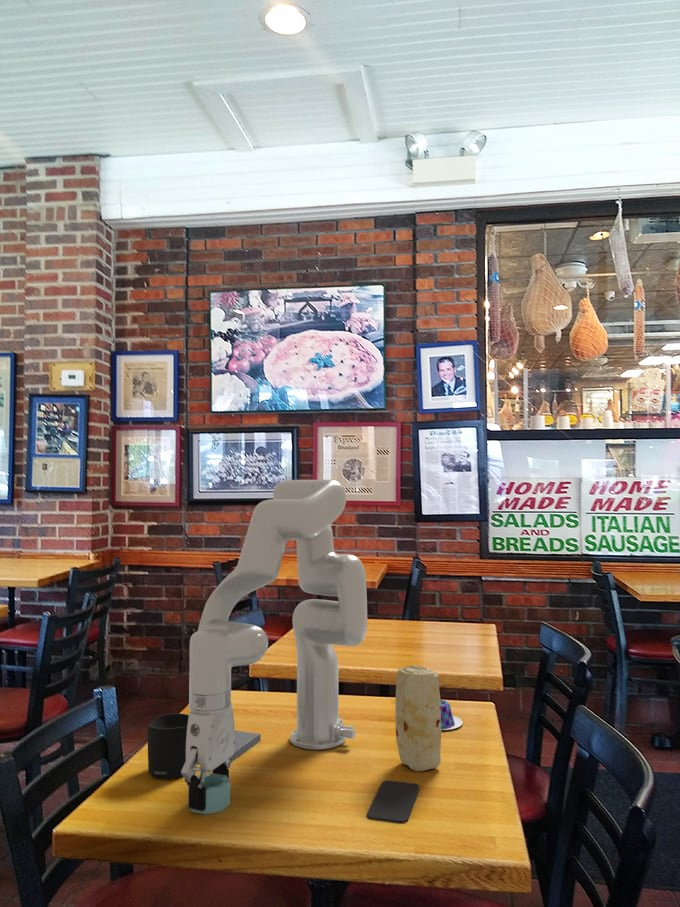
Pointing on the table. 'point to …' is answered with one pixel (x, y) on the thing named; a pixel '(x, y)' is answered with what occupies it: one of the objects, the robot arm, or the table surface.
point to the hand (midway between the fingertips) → (209, 798)
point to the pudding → (448, 717)
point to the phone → (393, 802)
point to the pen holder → (167, 745)
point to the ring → (215, 793)
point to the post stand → (244, 742)
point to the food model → (418, 717)
